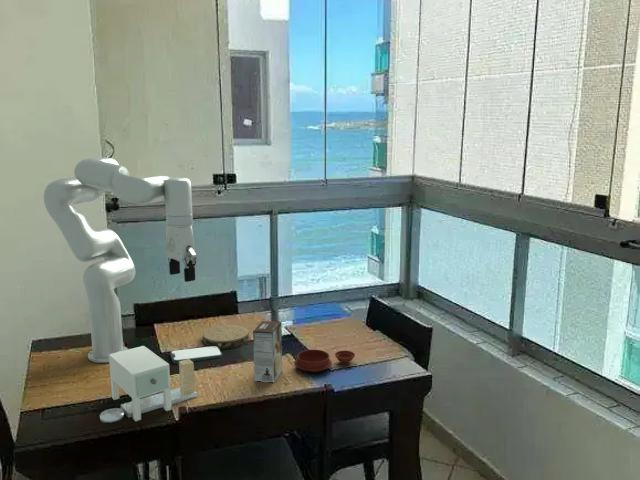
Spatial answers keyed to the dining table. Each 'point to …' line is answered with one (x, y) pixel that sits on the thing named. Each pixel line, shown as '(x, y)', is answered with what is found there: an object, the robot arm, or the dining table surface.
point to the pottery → (320, 359)
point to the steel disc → (111, 415)
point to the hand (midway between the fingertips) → (182, 277)
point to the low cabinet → (139, 376)
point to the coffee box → (267, 351)
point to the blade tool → (177, 394)
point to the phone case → (196, 354)
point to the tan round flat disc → (225, 336)
